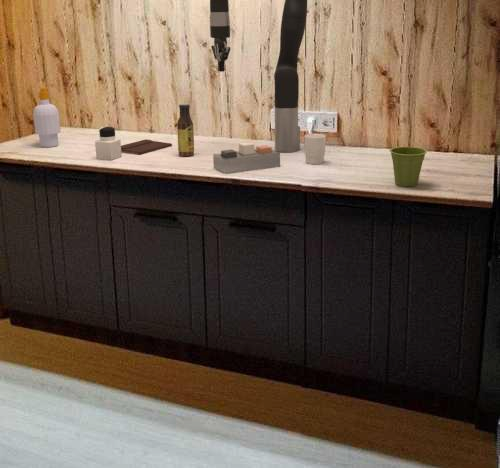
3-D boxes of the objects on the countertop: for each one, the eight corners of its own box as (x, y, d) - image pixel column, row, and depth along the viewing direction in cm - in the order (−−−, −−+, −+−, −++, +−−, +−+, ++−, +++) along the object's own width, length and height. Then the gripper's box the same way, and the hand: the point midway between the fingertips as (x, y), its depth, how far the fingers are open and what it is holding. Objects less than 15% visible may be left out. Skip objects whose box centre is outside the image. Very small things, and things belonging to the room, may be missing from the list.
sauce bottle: (191, 157, 283) (189, 105, 277) (176, 156, 284) (173, 105, 278) (196, 153, 289) (194, 103, 283) (181, 153, 290) (178, 103, 284)
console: (267, 160, 275) (267, 147, 273) (280, 166, 266) (280, 152, 264) (213, 167, 266) (213, 154, 264) (224, 173, 257) (224, 159, 256)
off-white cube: (249, 151, 267) (249, 142, 266) (254, 154, 263) (254, 144, 262) (238, 153, 265) (238, 143, 264) (243, 155, 262) (243, 145, 261)
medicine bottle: (122, 156, 287) (119, 126, 283) (111, 160, 280) (108, 129, 277) (107, 155, 289) (104, 125, 286) (96, 159, 283) (93, 128, 279)
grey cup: (327, 160, 273) (328, 134, 270) (322, 165, 266) (323, 138, 263) (307, 159, 276) (307, 133, 272) (301, 164, 269) (301, 137, 265)
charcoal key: (232, 158, 265) (231, 149, 264) (236, 161, 261) (236, 151, 260) (221, 160, 263) (221, 150, 262) (226, 162, 259) (225, 152, 258)
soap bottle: (67, 144, 311) (61, 87, 303) (48, 149, 303) (42, 90, 295) (50, 142, 316) (44, 86, 308) (31, 146, 308) (24, 89, 300)
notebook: (172, 147, 304) (171, 142, 304) (139, 156, 289) (139, 151, 288) (145, 143, 312) (145, 138, 312) (112, 152, 297) (111, 147, 297)
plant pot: (384, 187, 236) (386, 153, 232) (391, 178, 246) (393, 145, 243) (422, 190, 232) (424, 155, 228) (427, 181, 242) (429, 147, 238)
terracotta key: (266, 154, 270) (266, 145, 269) (271, 156, 267) (271, 147, 266) (256, 155, 269) (256, 146, 268) (261, 158, 265) (261, 148, 264)
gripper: (236, 24, 272) (237, 72, 277) (221, 23, 283) (223, 69, 289) (217, 25, 269) (219, 73, 274) (203, 24, 280) (205, 70, 286)
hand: (221, 71), depth 282 cm, fingers closed
